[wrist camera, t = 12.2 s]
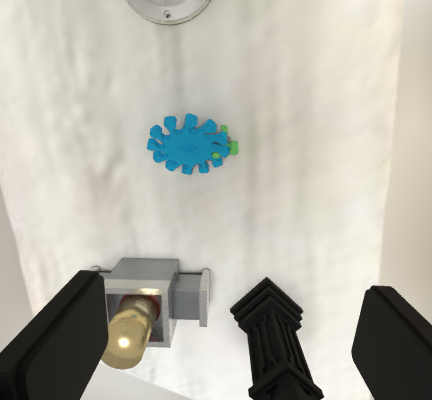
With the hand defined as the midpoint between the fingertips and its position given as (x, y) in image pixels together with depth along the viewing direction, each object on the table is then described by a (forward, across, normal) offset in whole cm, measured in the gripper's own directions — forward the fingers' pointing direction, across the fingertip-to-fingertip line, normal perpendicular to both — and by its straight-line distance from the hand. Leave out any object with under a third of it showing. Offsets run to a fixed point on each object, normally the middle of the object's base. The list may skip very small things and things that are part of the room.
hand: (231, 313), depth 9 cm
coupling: (+22, +10, +18) cm, 30 cm away
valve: (+28, +10, +18) cm, 35 cm away
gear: (+29, +4, -3) cm, 29 cm away
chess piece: (+28, -8, +22) cm, 36 cm away
